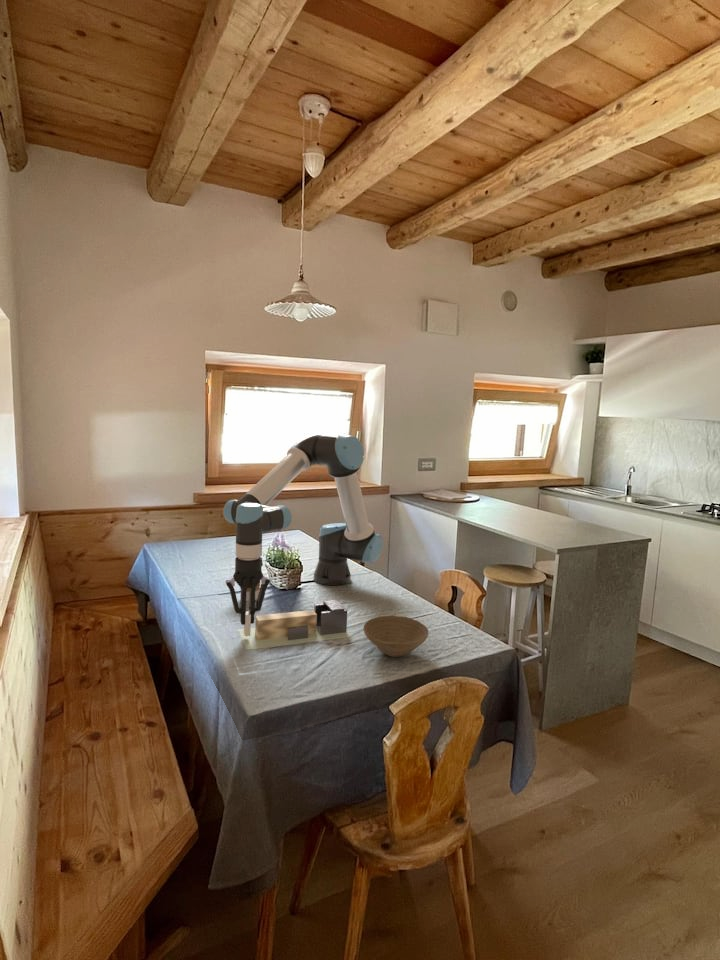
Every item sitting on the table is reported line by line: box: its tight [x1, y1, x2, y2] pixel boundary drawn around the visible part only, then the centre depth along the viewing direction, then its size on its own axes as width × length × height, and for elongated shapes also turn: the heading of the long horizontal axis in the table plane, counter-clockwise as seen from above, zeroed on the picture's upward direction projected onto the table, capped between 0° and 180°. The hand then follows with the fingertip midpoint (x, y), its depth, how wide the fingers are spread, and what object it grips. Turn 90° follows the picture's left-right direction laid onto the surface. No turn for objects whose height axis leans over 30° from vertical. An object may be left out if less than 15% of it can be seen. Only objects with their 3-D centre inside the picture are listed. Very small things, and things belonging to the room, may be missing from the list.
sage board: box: [237, 626, 352, 651], centre depth 163 cm, size 32×15×1 cm, turn 112°
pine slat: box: [254, 609, 317, 640], centre depth 161 cm, size 18×4×6 cm, turn 112°
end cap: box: [313, 599, 348, 635], centre depth 167 cm, size 8×8×8 cm
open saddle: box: [288, 625, 308, 640], centre depth 163 cm, size 6×9×4 cm, turn 23°
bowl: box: [363, 615, 429, 658], centre depth 152 cm, size 18×18×8 cm
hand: (246, 633), depth 157 cm, fingers closed
